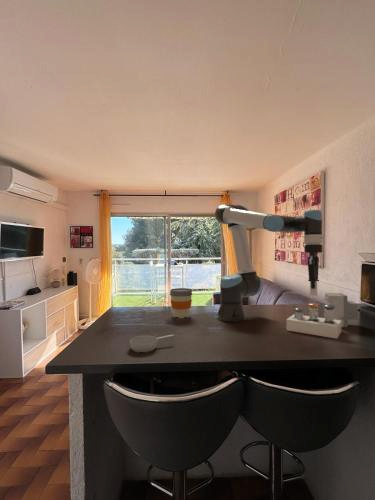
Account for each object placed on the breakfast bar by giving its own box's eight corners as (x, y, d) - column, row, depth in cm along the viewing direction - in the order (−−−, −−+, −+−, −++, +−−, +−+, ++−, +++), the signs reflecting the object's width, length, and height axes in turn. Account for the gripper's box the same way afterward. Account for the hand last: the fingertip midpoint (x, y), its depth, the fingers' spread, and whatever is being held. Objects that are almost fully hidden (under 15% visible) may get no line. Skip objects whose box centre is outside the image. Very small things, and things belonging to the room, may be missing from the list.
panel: (286, 330, 130) (286, 319, 130) (293, 324, 139) (293, 314, 139) (337, 338, 117) (337, 326, 117) (341, 331, 127) (341, 320, 127)
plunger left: (292, 327, 132) (292, 309, 132) (295, 325, 135) (295, 307, 135) (302, 329, 129) (302, 310, 129) (305, 326, 133) (304, 308, 133)
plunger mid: (307, 323, 128) (307, 304, 128) (309, 321, 131) (309, 302, 131) (317, 325, 125) (317, 305, 125) (319, 322, 129) (319, 303, 129)
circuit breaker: (361, 327, 132) (361, 296, 132) (329, 326, 135) (329, 295, 135) (355, 323, 140) (355, 293, 139) (324, 322, 143) (324, 292, 142)
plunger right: (322, 325, 124) (322, 306, 124) (324, 323, 128) (324, 304, 128) (334, 327, 122) (333, 307, 121) (335, 325, 125) (335, 305, 125)
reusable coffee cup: (196, 315, 160) (196, 289, 160) (184, 320, 150) (184, 292, 150) (178, 312, 167) (178, 287, 167) (165, 317, 157) (165, 290, 156)
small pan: (127, 346, 112) (127, 336, 112) (169, 339, 119) (169, 330, 119) (133, 356, 102) (132, 345, 102) (178, 348, 109) (178, 338, 109)
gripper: (319, 243, 120) (319, 298, 121) (324, 243, 131) (325, 294, 131) (301, 244, 125) (301, 296, 125) (307, 244, 135) (308, 292, 136)
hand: (313, 295), depth 128 cm, fingers closed
